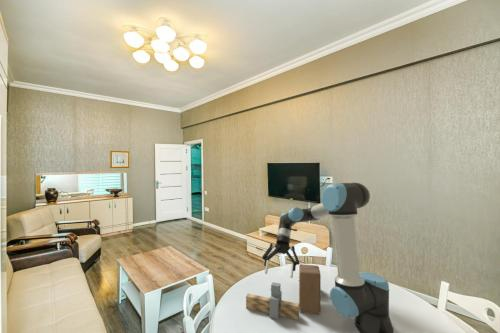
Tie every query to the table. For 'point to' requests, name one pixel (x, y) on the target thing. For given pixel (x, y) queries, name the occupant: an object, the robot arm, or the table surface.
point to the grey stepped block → (275, 300)
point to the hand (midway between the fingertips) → (278, 275)
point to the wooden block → (309, 289)
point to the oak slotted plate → (264, 305)
